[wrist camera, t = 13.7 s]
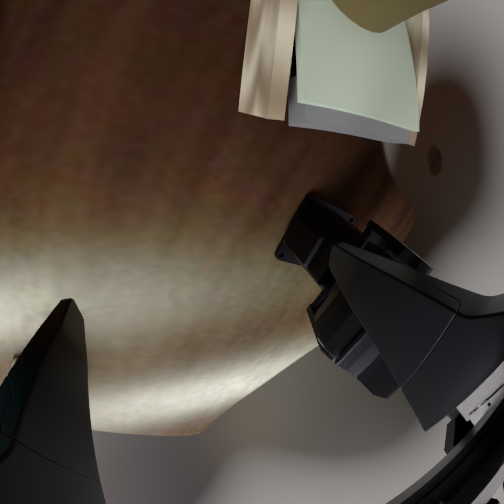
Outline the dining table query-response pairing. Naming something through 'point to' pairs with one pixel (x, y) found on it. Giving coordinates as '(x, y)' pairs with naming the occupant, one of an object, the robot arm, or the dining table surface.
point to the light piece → (352, 76)
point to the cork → (382, 11)
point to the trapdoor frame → (280, 54)
